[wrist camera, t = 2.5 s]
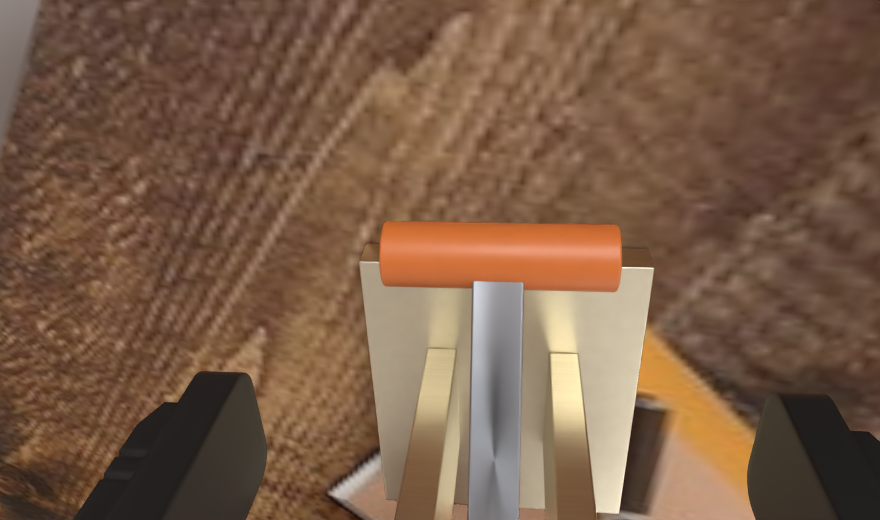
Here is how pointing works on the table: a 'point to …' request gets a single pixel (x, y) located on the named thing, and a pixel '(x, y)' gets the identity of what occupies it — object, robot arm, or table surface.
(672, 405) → the table surface
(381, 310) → the bracket
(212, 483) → the robot arm
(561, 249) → the lever
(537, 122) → the table surface
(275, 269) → the table surface
